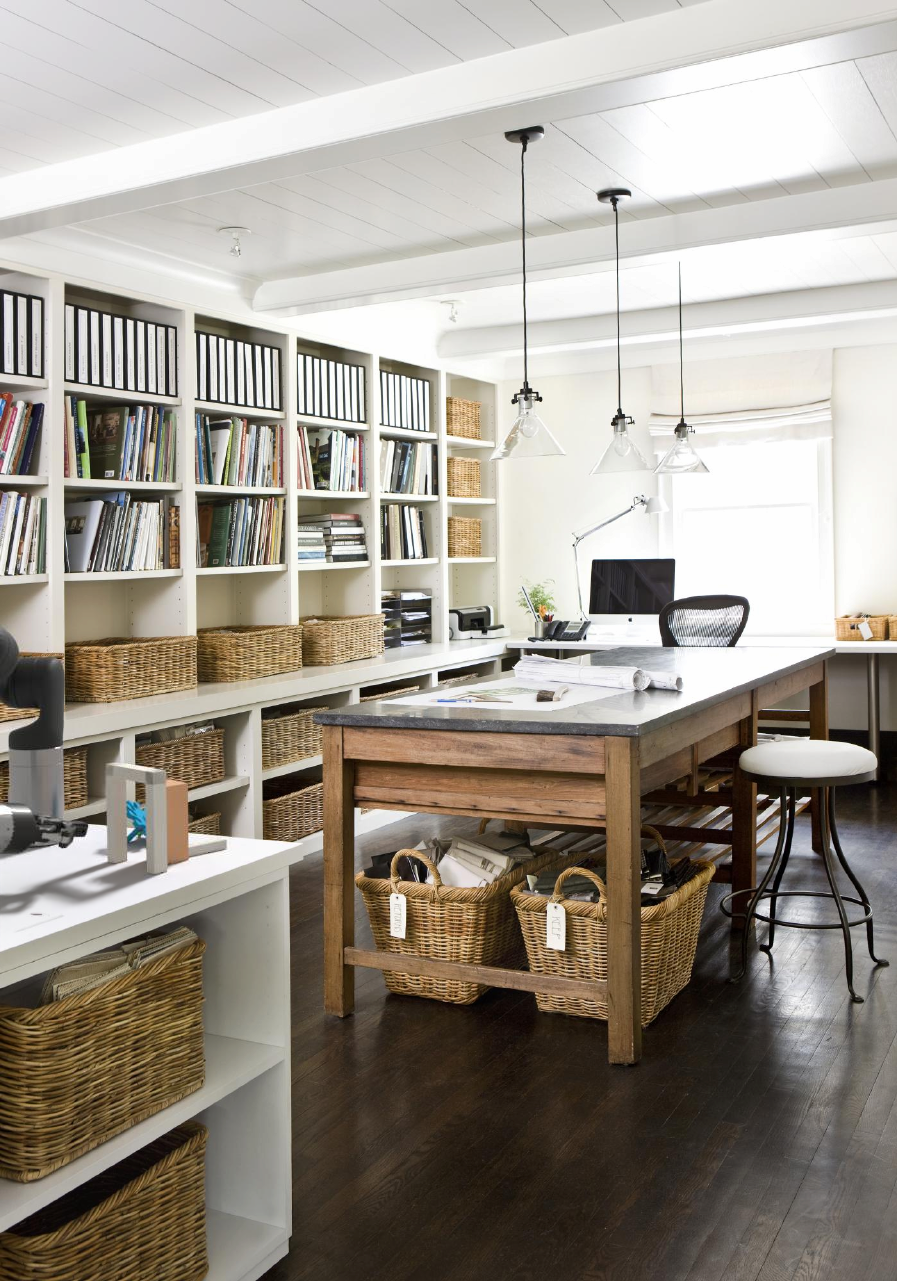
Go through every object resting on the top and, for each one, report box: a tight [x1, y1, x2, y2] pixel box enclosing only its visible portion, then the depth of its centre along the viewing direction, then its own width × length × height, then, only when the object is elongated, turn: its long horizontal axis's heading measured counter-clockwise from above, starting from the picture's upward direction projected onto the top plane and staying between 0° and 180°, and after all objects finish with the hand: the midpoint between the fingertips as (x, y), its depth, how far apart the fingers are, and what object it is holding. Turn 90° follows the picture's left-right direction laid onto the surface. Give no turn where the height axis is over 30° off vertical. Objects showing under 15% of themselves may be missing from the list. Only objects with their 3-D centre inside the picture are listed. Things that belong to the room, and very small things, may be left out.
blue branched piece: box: [126, 799, 146, 844], centre depth 207 cm, size 11×6×10 cm
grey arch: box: [105, 761, 168, 875], centre depth 189 cm, size 13×2×16 cm, turn 50°
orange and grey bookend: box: [144, 779, 228, 865], centre depth 197 cm, size 5×14×13 cm, turn 137°
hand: (84, 829), depth 183 cm, fingers closed
